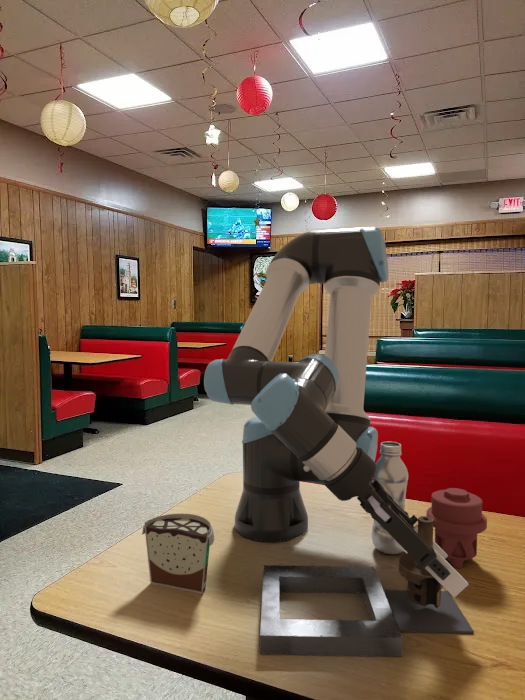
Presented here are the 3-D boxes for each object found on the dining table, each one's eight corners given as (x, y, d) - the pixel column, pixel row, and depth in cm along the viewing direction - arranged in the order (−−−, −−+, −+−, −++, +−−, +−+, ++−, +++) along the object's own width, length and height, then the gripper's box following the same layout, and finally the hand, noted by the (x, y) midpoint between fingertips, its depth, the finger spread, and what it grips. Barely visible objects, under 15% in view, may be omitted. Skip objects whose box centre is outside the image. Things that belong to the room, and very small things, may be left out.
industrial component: (392, 583, 76) (394, 507, 75) (439, 584, 76) (441, 508, 75) (409, 620, 67) (411, 534, 66) (463, 621, 66) (465, 535, 66)
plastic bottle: (388, 562, 87) (390, 450, 85) (363, 546, 93) (365, 442, 91) (415, 554, 90) (417, 446, 88) (390, 539, 96) (391, 438, 94)
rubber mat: (384, 591, 77) (384, 589, 77) (448, 592, 77) (448, 590, 77) (399, 632, 67) (400, 629, 67) (473, 633, 67) (473, 631, 67)
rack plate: (263, 579, 81) (263, 565, 81) (373, 581, 80) (374, 566, 80) (260, 654, 63) (260, 635, 63) (401, 656, 62) (402, 638, 62)
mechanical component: (478, 548, 92) (492, 576, 82) (422, 544, 94) (429, 570, 84) (480, 484, 91) (494, 504, 81) (423, 480, 93) (430, 499, 83)
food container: (226, 576, 82) (226, 517, 81) (211, 595, 76) (210, 532, 76) (162, 564, 86) (161, 508, 85) (142, 581, 80) (141, 522, 80)
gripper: (315, 461, 81) (412, 558, 82) (328, 508, 61) (456, 636, 62) (348, 430, 81) (445, 527, 81) (372, 466, 61) (501, 595, 61)
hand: (450, 574), depth 71 cm, fingers closed on industrial component, 7 cm apart
